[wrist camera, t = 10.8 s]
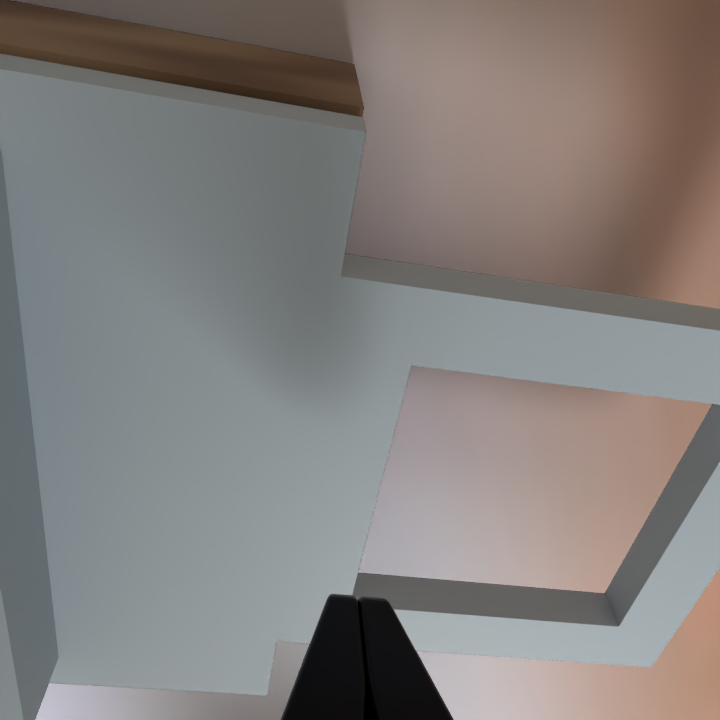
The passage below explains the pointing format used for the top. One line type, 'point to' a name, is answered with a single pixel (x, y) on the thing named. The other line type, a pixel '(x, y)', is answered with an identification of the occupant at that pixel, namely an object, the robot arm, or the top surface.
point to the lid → (268, 399)
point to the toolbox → (177, 58)
